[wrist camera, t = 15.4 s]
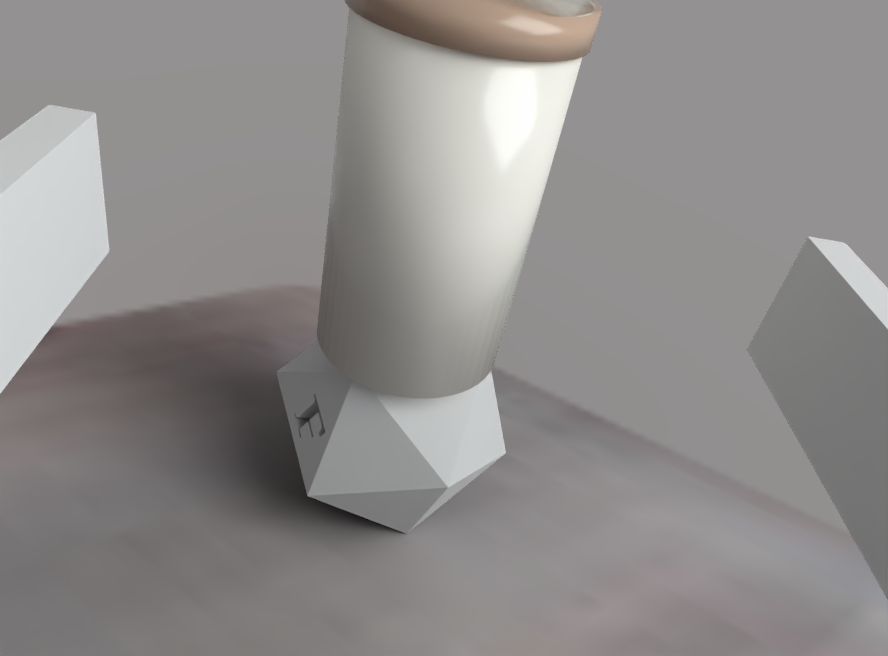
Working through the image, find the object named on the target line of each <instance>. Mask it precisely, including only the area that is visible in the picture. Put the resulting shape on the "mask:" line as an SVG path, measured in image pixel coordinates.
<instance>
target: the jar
mask: <svg viewBox="0 0 888 656" xmlns="http://www.w3.org/2000/svg"><path fill="white" fill-rule="evenodd" d="M345 2H346V4H347V5H348V6H349V16H348V26H347V37H346V46H345V57H344V66H343V77H342V86H341V96H340V107H339V116H338V126H337V136H336V145H335V155H334V165H333V175H332V186H331V195H330V205H329V216H328V225H327V235H326V245H325V256H324V266H323V275H322V285H321V295H320V305H319V315H318V325H317V338H318V342H319V345H320V347H321V350H322V352H323V353H324V355H325V356H326V358H327V359H328V360H329V361H330V362H331V364H332V365H333V366H334V367H335V368H337V369H338V370H339V371H340V372H341V373H343V374H344V375H346V376H347V377H349V378H350V379H352V380H353V381H355V382H357V383H359V384H361V385H363V386H366V387H368V388H371V389H373V390H376V391H379V392H383V393H386V394H390V395H395V396H400V397H407V398H425V399H428V398H440V397H446V396H451V395H455V394H458V393H462V392H464V391H466V390H469V389H471V388H473V387H474V386H476V385H478V384H479V383H480V382H481V381H483V380H484V379H485V378H486V377H487V375H488V374H489V373H490V371H491V370H492V368H493V366H494V362H495V359H496V355H497V352H498V348H499V344H500V341H501V338H502V335H503V331H504V327H505V324H506V320H507V317H508V314H509V310H510V306H511V303H512V300H513V296H514V293H515V289H516V286H517V282H518V279H519V275H520V272H521V269H522V265H523V261H524V258H525V255H526V251H527V248H528V244H529V241H530V237H531V233H532V230H533V227H534V223H535V220H536V216H537V213H538V209H539V206H540V203H541V198H542V196H543V192H544V188H545V185H546V181H547V178H548V174H549V171H550V168H551V164H552V161H553V157H554V154H555V150H556V147H557V143H558V140H559V136H560V133H561V130H562V126H563V122H564V119H565V116H566V112H567V109H568V105H569V102H570V98H571V95H572V91H573V88H574V84H575V81H576V77H577V74H578V71H579V67H580V63H581V60H582V57H584V56H586V55H587V54H588V53H589V52H590V49H591V46H592V42H593V39H594V36H595V32H596V29H597V25H598V22H599V18H600V14H601V11H602V9H601V6H600V5H599V4H598V3H597V2H596V1H594V0H345Z"/></svg>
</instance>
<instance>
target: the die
mask: <svg viewBox="0 0 888 656" xmlns="http://www.w3.org/2000/svg"><path fill="white" fill-rule="evenodd" d="M276 373H277V377H278V381H279V385H280V389H281V393H282V397H283V401H284V405H285V409H286V413H287V417H288V421H289V425H290V429H291V433H292V437H293V441H294V445H295V449H296V453H297V457H298V461H299V465H300V469H301V473H302V477H303V481H304V485H305V489H306V493H307V496H309V497H311V498H314V499H317V500H319V501H322V502H324V503H327V504H330V505H332V506H335V507H338V508H340V509H343V510H345V511H348V512H351V513H353V514H356V515H359V516H361V517H364V518H366V519H369V520H372V521H374V522H377V523H380V524H382V525H385V526H387V527H390V528H393V529H395V530H398V531H401V532H403V533H406V534H407V533H408V532H410V531H411V530H412V529H413V528H415V527H416V526H417V525H418V524H419V523H421V522H422V521H423V520H424V519H426V518H427V517H428V516H429V515H431V514H432V513H433V512H434V511H435V510H437V509H438V508H439V507H440V506H442V505H443V504H444V503H445V502H446V501H448V500H449V499H450V498H451V497H453V496H454V495H455V494H456V493H457V492H459V491H460V490H461V489H462V488H464V487H465V486H466V485H467V484H468V483H470V482H471V481H472V480H473V479H475V478H476V477H477V476H478V475H479V474H481V473H482V472H483V471H484V470H486V469H487V468H488V467H489V466H491V465H492V464H493V463H494V462H495V461H497V460H498V459H499V458H500V457H502V456H503V455H504V454H505V453H506V451H505V446H504V440H503V434H502V429H501V423H500V418H499V412H498V407H497V401H496V396H495V390H494V384H493V379H492V373H491V371H490V373H489V374H488V375H487V377H486V378H485V379H484V380H483V381H481V382H480V383H479V384H478V385H476V386H474V387H473V388H471V389H469V390H466V391H464V392H462V393H458V394H455V395H451V396H446V397H440V398H428V399H425V398H407V397H400V396H395V395H390V394H386V393H383V392H379V391H376V390H373V389H371V388H368V387H366V386H363V385H361V384H359V383H357V382H355V381H353V380H352V379H350V378H349V377H347V376H346V375H344V374H343V373H341V372H340V371H339V370H338V369H337V368H335V367H334V366H333V365H332V364H331V362H330V361H329V360H328V359H327V358H326V356H325V355H324V353H323V352H322V350H321V347H320V345H319V342H318V340H317V341H316V342H314V343H313V344H312V345H311V346H309V347H308V348H307V349H305V350H304V351H303V352H301V353H300V354H299V355H298V356H296V357H295V358H294V359H292V360H291V361H290V362H288V363H287V364H286V365H285V366H283V367H282V368H281V369H279V370H278V371H277V372H276Z"/></svg>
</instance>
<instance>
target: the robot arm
mask: <svg viewBox="0 0 888 656" xmlns="http://www.w3.org/2000/svg"><path fill="white" fill-rule="evenodd" d="M108 252H109V243H108V232H107V222H106V213H105V203H104V192H103V182H102V172H101V163H100V153H99V142H98V132H97V122H96V113H94V112H88V111H82V110H76V109H71V108H65V107H59V106H53V105H48V106H47V107H45V108H44V109H43V110H41V111H40V112H39V113H37V114H36V115H34V116H33V117H32V118H30V119H29V120H28V121H26V122H25V123H24V124H22V125H21V126H20V127H18V128H17V129H15V130H14V131H13V132H11V133H10V134H9V135H7V136H6V137H5V138H3V139H2V140H0V393H1V392H2V391H3V389H4V388H5V387H6V385H7V384H8V383H9V382H10V380H11V379H12V378H13V376H14V375H15V374H16V372H17V371H18V370H19V368H20V367H21V366H22V365H23V363H24V362H25V361H26V359H27V358H28V357H29V355H30V354H31V353H32V352H33V350H34V349H35V348H36V346H37V345H38V344H39V342H40V341H41V340H42V338H43V337H44V336H45V335H46V333H47V332H48V331H49V329H50V328H51V327H52V325H53V324H54V323H55V322H56V320H57V319H58V318H59V316H60V315H61V314H62V312H63V311H64V309H65V308H66V307H67V306H68V305H69V303H70V302H71V301H72V299H73V298H74V297H75V295H76V294H77V293H78V292H79V290H80V289H81V288H82V286H83V285H84V283H85V282H86V281H87V280H88V278H89V277H90V276H91V275H92V273H93V272H94V271H95V269H96V268H97V267H98V265H99V264H100V263H101V261H102V260H103V259H104V258H105V256H106V255H107V254H108ZM747 351H748V353H749V355H750V356H751V358H752V360H753V362H754V363H755V365H756V367H757V369H758V370H759V372H760V374H761V376H762V378H763V379H764V381H765V383H766V385H767V386H768V388H769V390H770V392H771V393H772V395H773V397H774V399H775V401H776V402H777V404H778V406H779V408H780V409H781V411H782V413H783V414H784V417H785V418H786V420H787V422H788V424H789V425H790V427H791V429H792V431H793V432H794V434H795V436H796V438H797V440H798V441H799V443H800V445H801V447H802V448H803V450H804V452H805V454H806V455H807V457H808V459H809V460H810V463H811V464H812V466H813V468H814V469H815V471H816V473H817V475H818V477H819V478H820V480H821V482H822V484H823V486H824V487H825V489H826V491H827V493H828V494H829V496H830V498H831V500H832V502H833V503H834V505H835V507H836V509H837V510H838V512H839V514H840V516H841V517H842V519H843V521H844V523H845V524H846V526H847V528H848V530H849V532H850V533H851V535H852V537H853V539H854V540H855V542H856V544H857V546H858V548H859V549H860V551H861V553H862V555H863V556H864V558H865V560H866V562H867V564H868V565H869V567H870V569H871V571H872V572H873V574H874V576H875V578H876V579H877V581H878V583H879V585H880V587H881V588H882V590H883V592H884V594H885V595H886V597H887V599H888V288H887V287H886V286H885V285H884V284H883V283H882V282H881V281H880V280H879V279H878V278H877V277H876V275H875V274H874V273H873V272H872V271H871V270H870V269H869V268H868V267H867V266H866V265H865V264H864V263H863V262H862V260H860V258H859V257H858V256H857V255H856V254H855V253H854V252H853V251H852V250H851V249H850V248H849V247H848V246H847V245H846V244H845V243H843V242H837V241H832V240H826V239H820V238H814V237H807V239H806V241H805V243H804V244H803V246H802V248H801V250H800V252H799V254H798V256H797V257H796V259H795V261H794V263H793V265H792V267H791V268H790V270H789V272H788V274H787V276H786V278H785V280H784V282H783V284H782V285H781V287H780V289H779V291H778V293H777V295H776V296H775V298H774V300H773V302H772V304H771V306H770V307H769V309H768V311H767V313H766V315H765V317H764V319H763V320H762V322H761V324H760V326H759V328H758V330H757V331H756V333H755V335H754V337H753V339H752V341H751V343H750V344H749V346H748V348H747Z"/></svg>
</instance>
